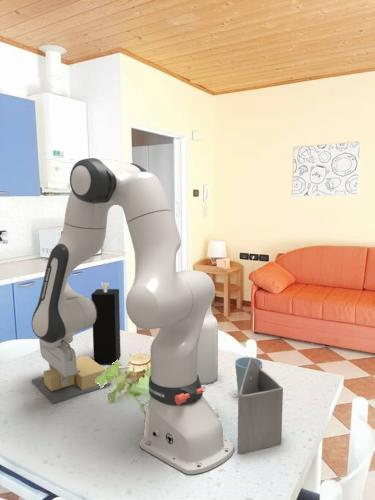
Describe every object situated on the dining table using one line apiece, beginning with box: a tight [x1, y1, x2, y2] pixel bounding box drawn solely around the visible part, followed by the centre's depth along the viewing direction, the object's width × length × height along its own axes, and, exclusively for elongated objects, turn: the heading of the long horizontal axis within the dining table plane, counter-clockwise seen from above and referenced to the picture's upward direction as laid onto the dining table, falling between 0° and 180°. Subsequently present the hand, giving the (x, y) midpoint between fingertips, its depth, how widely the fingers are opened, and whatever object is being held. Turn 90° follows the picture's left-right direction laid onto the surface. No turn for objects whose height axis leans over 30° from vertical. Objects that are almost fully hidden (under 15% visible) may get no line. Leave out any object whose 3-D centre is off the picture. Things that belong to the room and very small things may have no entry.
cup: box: [234, 356, 264, 397], centre depth 112 cm, size 8×8×10 cm
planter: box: [237, 356, 284, 455], centre depth 92 cm, size 16×8×19 cm, turn 154°
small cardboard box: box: [43, 368, 74, 391], centre depth 119 cm, size 6×7×4 cm
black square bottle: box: [90, 281, 122, 365], centre depth 138 cm, size 8×8×28 cm
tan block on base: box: [31, 355, 112, 405], centre depth 122 cm, size 18×18×5 cm
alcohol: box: [197, 303, 219, 385], centre depth 123 cm, size 9×9×30 cm
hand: (59, 380), depth 119 cm, fingers closed on small cardboard box, 6 cm apart
